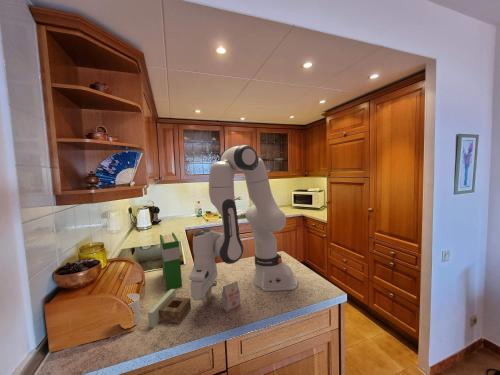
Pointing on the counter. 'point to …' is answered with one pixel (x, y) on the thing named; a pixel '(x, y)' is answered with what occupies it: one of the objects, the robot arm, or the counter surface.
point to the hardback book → (171, 261)
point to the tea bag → (231, 296)
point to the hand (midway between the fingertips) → (206, 297)
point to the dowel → (207, 298)
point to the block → (174, 309)
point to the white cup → (135, 306)
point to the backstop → (154, 312)
